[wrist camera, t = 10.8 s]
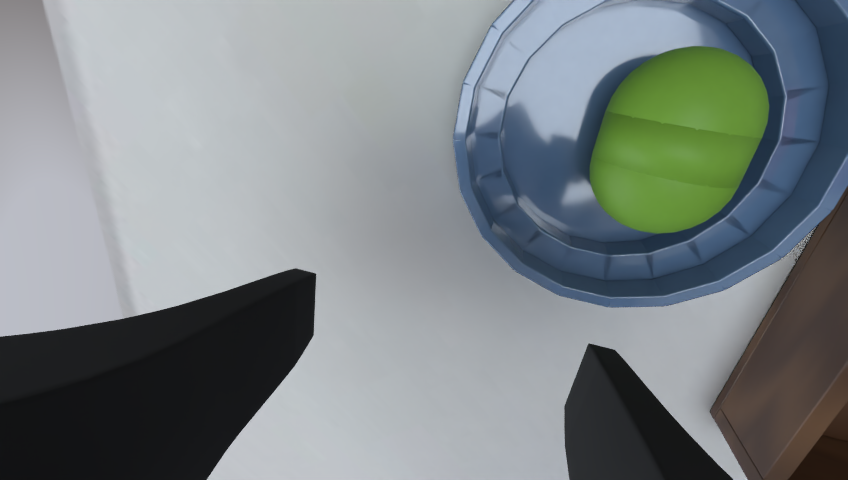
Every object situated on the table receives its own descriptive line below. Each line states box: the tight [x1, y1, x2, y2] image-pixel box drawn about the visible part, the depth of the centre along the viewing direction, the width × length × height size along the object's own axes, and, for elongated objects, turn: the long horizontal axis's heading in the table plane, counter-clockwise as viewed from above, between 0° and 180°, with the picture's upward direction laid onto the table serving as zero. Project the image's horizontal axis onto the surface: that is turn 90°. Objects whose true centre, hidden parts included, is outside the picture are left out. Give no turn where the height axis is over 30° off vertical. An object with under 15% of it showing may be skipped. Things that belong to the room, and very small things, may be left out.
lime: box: [590, 46, 769, 233], centre depth 14 cm, size 6×5×5 cm
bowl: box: [453, 0, 848, 307], centre depth 15 cm, size 13×13×4 cm
